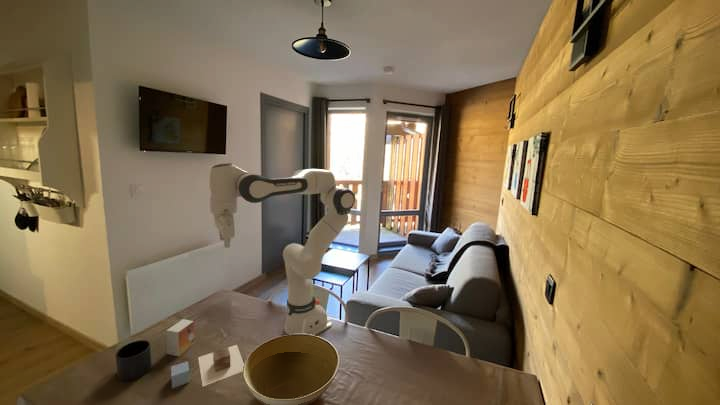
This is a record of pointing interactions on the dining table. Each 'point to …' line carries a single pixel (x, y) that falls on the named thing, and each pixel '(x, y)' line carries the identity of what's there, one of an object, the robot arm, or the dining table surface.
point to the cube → (180, 374)
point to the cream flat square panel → (211, 376)
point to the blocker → (221, 359)
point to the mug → (133, 360)
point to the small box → (180, 337)
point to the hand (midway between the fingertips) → (224, 243)
